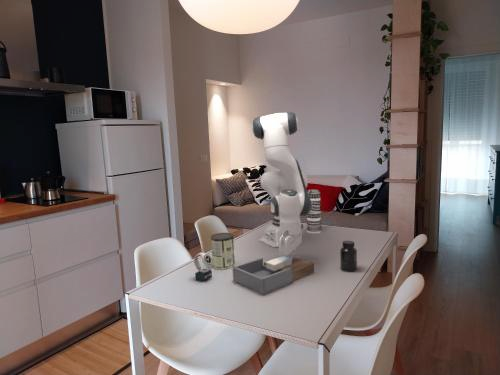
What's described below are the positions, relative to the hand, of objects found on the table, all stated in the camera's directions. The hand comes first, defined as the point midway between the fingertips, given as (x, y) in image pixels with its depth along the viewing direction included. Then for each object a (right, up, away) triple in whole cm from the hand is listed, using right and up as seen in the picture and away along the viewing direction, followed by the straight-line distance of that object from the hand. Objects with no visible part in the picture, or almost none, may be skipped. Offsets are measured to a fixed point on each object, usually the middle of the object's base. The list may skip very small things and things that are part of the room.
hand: (291, 259), depth 156 cm
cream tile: (-7, -2, -5) cm, 9 cm away
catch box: (-13, -7, -9) cm, 17 cm away
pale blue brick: (-3, -1, -2) cm, 4 cm away
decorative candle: (+21, +4, +61) cm, 65 cm away
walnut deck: (-1, -5, 0) cm, 5 cm away
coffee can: (-30, -5, +11) cm, 32 cm away
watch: (-37, -7, -3) cm, 38 cm away
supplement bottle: (+25, -4, 0) cm, 25 cm away
